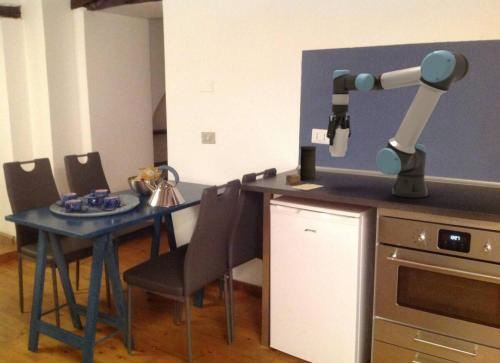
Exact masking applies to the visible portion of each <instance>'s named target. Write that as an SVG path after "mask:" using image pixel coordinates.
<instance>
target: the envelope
mask: <svg viewBox="0 0 500 363" xmlns="http://www.w3.org/2000/svg"><path fill="white" fill-rule="evenodd" d="M321 187H324V185H319V184H314V183H313V184H312V183H304V184H303V183H302V184H300V185H294V186H290V188H291V189H292V188H293V189H298V190H303V191H304V190H305V191H309V190H312V189H317V188H321Z"/></svg>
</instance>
